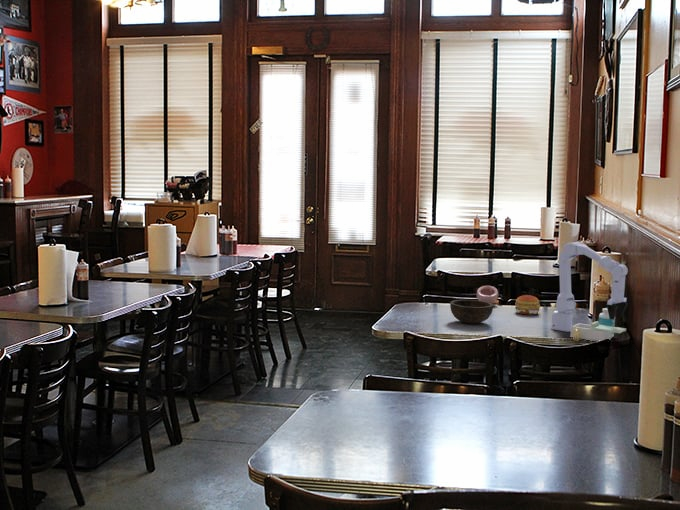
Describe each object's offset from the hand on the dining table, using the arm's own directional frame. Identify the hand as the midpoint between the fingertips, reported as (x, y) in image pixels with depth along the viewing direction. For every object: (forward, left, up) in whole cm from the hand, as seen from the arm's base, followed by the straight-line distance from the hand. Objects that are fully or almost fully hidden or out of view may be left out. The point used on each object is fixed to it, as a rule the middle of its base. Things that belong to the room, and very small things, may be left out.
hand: (615, 318), depth 400 cm
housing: (-8, -8, -10) cm, 16 cm away
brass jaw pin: (-12, -17, -10) cm, 23 cm away
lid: (-1, -8, -4) cm, 9 cm away
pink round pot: (-86, +37, -10) cm, 94 cm away
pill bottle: (-5, +3, -10) cm, 12 cm away
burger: (-58, +30, -10) cm, 66 cm away
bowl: (-68, -16, -10) cm, 71 cm away
